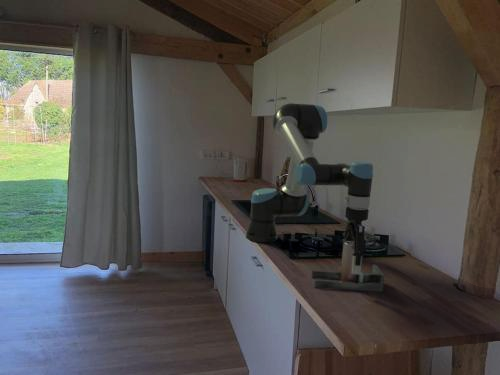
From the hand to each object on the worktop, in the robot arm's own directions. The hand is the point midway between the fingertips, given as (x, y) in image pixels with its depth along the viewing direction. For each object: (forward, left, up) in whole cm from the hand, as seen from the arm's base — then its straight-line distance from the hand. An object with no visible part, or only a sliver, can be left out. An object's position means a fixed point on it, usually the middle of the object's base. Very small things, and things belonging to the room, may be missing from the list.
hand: (351, 266), depth 141 cm
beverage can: (0, 0, -7) cm, 7 cm away
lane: (0, -2, -7) cm, 7 cm away
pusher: (0, +4, -6) cm, 8 cm away
